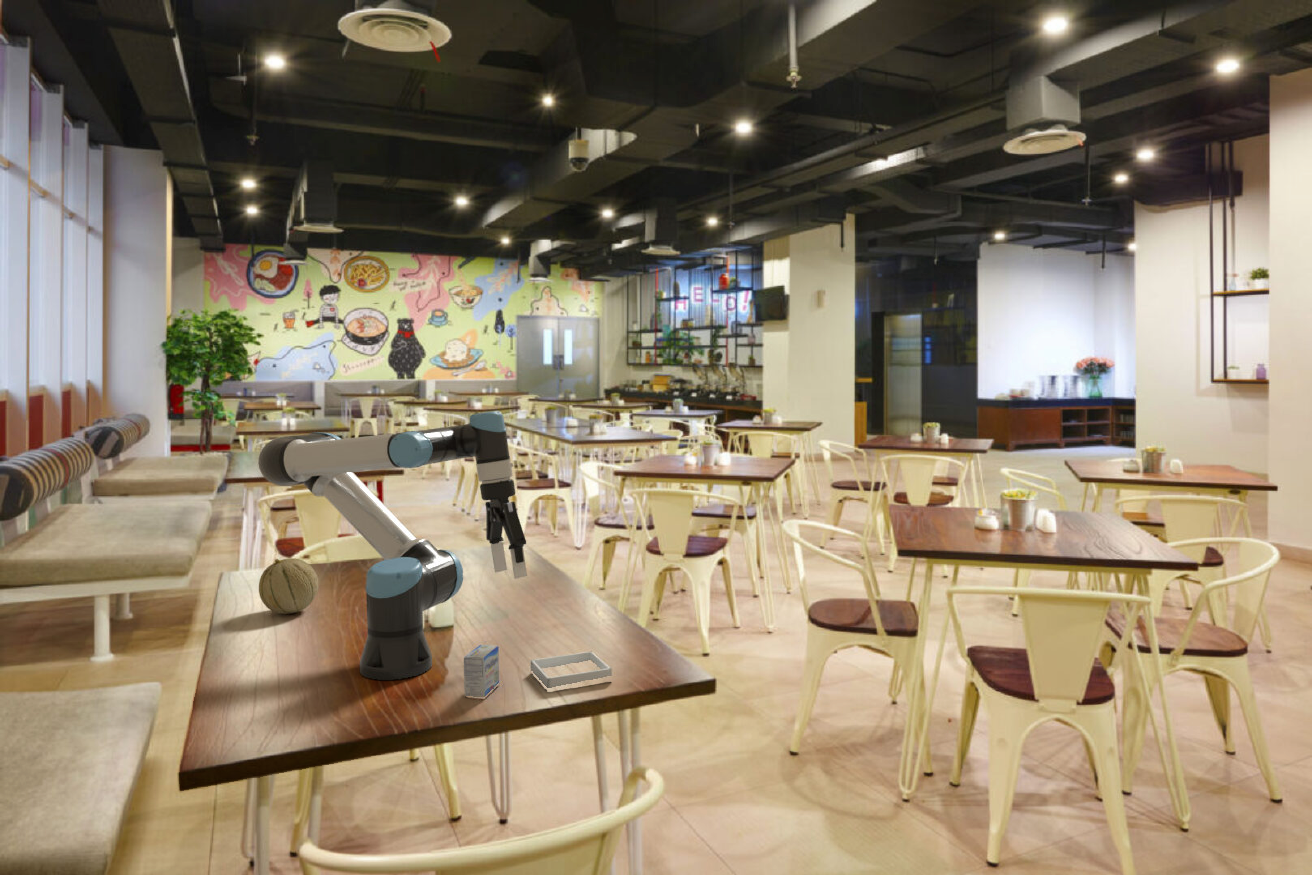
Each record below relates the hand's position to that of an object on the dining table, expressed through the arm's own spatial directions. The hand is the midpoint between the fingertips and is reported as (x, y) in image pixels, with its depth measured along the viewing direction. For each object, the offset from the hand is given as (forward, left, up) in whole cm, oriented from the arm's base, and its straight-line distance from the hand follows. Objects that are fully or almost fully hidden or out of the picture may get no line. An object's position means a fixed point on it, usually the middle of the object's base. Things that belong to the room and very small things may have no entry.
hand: (510, 574), depth 192 cm
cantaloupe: (-44, +60, -20) cm, 77 cm away
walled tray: (+9, -16, -20) cm, 27 cm away
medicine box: (-10, -16, -20) cm, 28 cm away
